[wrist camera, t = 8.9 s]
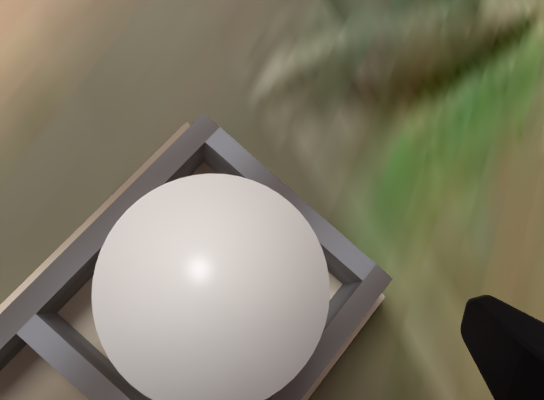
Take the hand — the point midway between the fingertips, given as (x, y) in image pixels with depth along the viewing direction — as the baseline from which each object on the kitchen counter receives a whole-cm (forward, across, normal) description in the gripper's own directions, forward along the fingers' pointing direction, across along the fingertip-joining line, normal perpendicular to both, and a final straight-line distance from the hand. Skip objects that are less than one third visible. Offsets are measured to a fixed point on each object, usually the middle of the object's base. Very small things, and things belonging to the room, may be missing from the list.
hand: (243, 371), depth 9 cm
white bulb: (+8, 0, +6) cm, 10 cm away
